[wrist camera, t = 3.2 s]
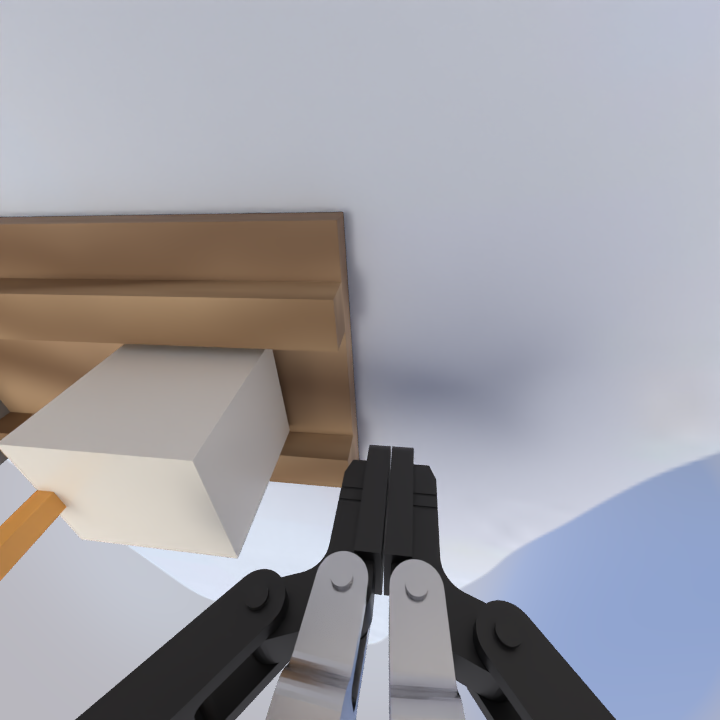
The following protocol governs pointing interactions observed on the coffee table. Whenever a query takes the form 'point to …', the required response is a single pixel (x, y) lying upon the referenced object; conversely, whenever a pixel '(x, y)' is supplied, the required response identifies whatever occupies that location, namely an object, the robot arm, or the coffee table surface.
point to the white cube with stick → (152, 451)
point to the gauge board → (184, 257)
